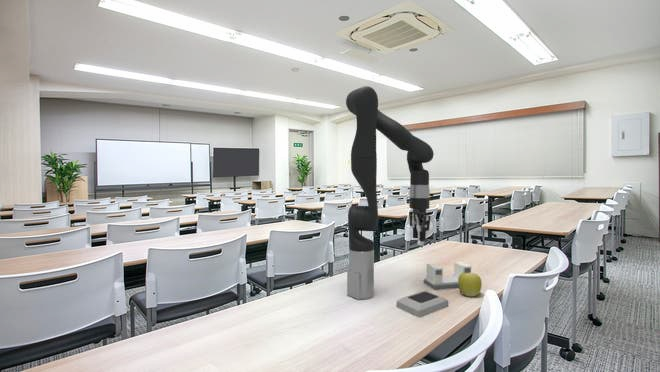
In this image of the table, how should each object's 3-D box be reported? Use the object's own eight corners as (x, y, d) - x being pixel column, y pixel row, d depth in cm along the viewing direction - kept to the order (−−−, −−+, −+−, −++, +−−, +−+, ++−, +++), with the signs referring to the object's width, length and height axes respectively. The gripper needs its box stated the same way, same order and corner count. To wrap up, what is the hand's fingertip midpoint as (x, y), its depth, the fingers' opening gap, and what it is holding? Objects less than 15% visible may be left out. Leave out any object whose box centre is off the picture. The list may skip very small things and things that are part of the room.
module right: (463, 281, 127) (463, 266, 127) (454, 276, 134) (454, 262, 133) (471, 281, 128) (471, 266, 127) (461, 275, 134) (461, 261, 134)
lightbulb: (415, 244, 130) (421, 217, 130) (430, 248, 126) (437, 221, 126) (409, 243, 125) (416, 216, 125) (424, 248, 121) (431, 220, 121)
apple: (483, 298, 113) (474, 270, 114) (460, 300, 117) (452, 273, 119) (486, 291, 120) (478, 264, 121) (464, 293, 124) (456, 267, 125)
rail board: (434, 289, 124) (434, 284, 124) (424, 282, 132) (424, 277, 132) (473, 286, 127) (473, 281, 127) (461, 279, 135) (461, 274, 135)
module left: (434, 284, 125) (434, 268, 124) (426, 278, 131) (426, 263, 131) (442, 283, 125) (443, 268, 125) (434, 277, 132) (434, 263, 132)
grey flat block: (396, 297, 109) (425, 288, 117) (396, 308, 109) (425, 298, 117) (418, 307, 101) (448, 296, 109) (418, 318, 101) (448, 307, 109)
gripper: (437, 197, 118) (437, 243, 119) (419, 195, 132) (419, 235, 133) (418, 198, 117) (418, 244, 118) (402, 195, 131) (402, 236, 132)
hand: (418, 239), depth 125 cm, fingers closed on lightbulb, 5 cm apart
